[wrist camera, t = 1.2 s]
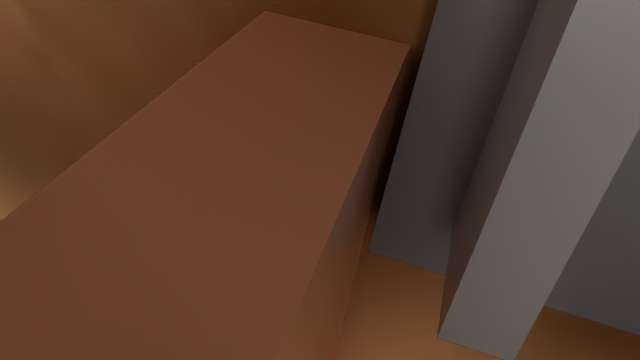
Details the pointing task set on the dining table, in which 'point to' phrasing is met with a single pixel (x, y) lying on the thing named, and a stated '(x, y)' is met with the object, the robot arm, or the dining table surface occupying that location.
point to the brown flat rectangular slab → (212, 209)
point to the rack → (522, 167)
